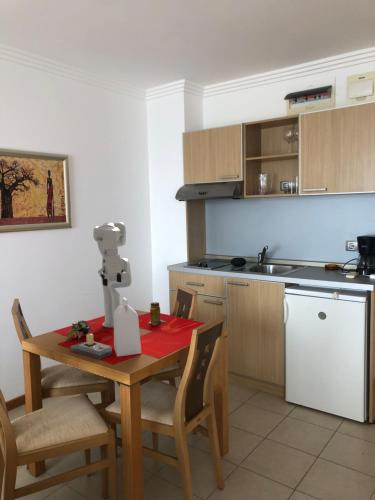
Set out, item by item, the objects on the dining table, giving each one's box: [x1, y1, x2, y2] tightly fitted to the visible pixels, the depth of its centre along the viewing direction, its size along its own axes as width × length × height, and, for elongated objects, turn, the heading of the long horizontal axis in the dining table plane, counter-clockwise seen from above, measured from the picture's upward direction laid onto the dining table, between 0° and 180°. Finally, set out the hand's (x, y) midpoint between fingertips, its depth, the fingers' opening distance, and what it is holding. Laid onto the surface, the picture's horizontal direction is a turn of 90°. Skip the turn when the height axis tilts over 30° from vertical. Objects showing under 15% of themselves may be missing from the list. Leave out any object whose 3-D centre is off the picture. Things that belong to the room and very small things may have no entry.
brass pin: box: [85, 332, 95, 347], centre depth 202 cm, size 3×3×9 cm
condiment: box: [148, 301, 166, 326], centre depth 249 cm, size 7×8×12 cm
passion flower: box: [67, 320, 95, 341], centre depth 224 cm, size 11×11×12 cm
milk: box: [113, 296, 142, 357], centre depth 202 cm, size 12×12×26 cm
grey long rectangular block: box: [69, 341, 113, 360], centre depth 202 cm, size 22×8×5 cm, turn 52°
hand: (112, 283), depth 222 cm, fingers open, 9 cm apart
